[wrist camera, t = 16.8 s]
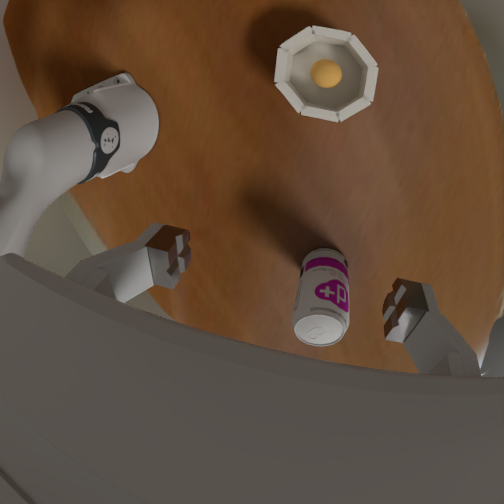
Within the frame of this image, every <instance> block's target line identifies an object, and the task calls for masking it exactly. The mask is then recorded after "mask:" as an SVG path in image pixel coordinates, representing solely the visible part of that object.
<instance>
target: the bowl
mask: <svg viewBox="0 0 504 504" xmlns="http://www.w3.org/2000/svg"><path fill="white" fill-rule="evenodd" d="M280 47H281V48H282V49H281V48H278V52H277V61H276V70H275V78H274V82H278V83H277V84H275V85H276V87H277V88H278V89H279V90H280V91H281V92H282V94H283V95H284V96H285V97H286V99H287V100H288V101H289V102H290V103H291V105H292V106H293V107H294V108H295V110H296V111H297V112H298V113H299V112H301V111H302V112H301V115H305V116H310V117H315V118H320V119H325V120H330V121H334V122H338V119H339V120H340V121H341V122H342V121H343V120H345V119H347V118H348V117H350V116H352V115H353V114H355V113H357V112H359V111H360V110H362V109H364V108H365V107H367V106H369V105H371V103H370V102H369V101H372V102H373V98H374V93H375V87H376V81H377V75H378V67H375V66H376V65H378V64H377V63H376V62H375V60H374V59H373V58H372V56H371V55H370V54H369V52H368V51H367V50H366V48H365V47H364V46H363V45H362V43H361V42H360V41H359V40H358V38H357V37H356V36H355V35H353V36H351V33H350V32H345V31H341V30H336V29H331V28H325V27H319V26H312V28H311V27H310V26H309V27H307V28H305V29H304V30H302V31H301V32H299V33H297V34H296V35H294V36H293V37H291V38H290V39H288V40H287V41H285V42H284V43H282V44H281V45H280ZM321 59H328V60H332V61H334V62H335V63H337V64H338V65H339V67H340V68H341V71H342V79H341V81H340V83H339V84H338V85H337V86H335V87H333V88H322V87H320V86H318V85H317V84H315V83H314V81H313V80H312V78H311V75H310V70H311V67H312V65H313V64H314V63H315V62H316V61H318V60H321Z"/></svg>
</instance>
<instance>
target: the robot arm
mask: <svg viewBox="0 0 504 504" xmlns="http://www.w3.org/2000/svg"><path fill="white" fill-rule="evenodd" d="M119 81H120V82H119ZM158 128H159V119H158V113H157V109H156V106H155V104H154V102H153V100H152V99H151V97H150V96H149V95H148V94H147V93H146V92H145V91H144V90H143V89H141V88H140V87H139V86H137V85H136V84H135V82H134V80H133V78H132V77H131V75H130V74H129V73H122V74H119V75H116V76H114V77H112V78H109V79H107V80H105V81H102V82H100V83H98V84H96V85H93V86H91V87H89V88H87V89H85V90H83V91H81V92H79V93H77V94H75V95H74V96H73V98H72V101H71V103H70V104H69V105H67V106H65V107H63V108H61V109H60V110H58V111H57V112H56V113H54V114H51V115H49V116H46V117H43V118H41V119H38V120H35V121H33V122H31V123H28V124H26V125H24V126H22V127H21V128H19V129H18V130H17V131H16V132H15V134H14V135H13V136H12V138H11V140H10V142H9V144H8V146H7V149H6V152H5V155H4V162H3V171H2V177H1V181H0V504H504V377H481V373H480V368H479V364H478V360H477V356H476V353H475V352H474V351H473V349H472V348H471V347H470V346H469V344H468V343H467V342H466V341H465V340H464V338H463V337H462V336H461V335H460V333H459V332H458V331H457V330H456V329H455V328H454V326H453V325H452V324H451V323H450V322H449V321H448V319H447V318H446V317H445V316H444V315H442V314H440V311H439V308H438V304H437V301H436V298H435V295H434V292H433V289H432V286H431V285H430V284H425V283H420V282H419V283H418V282H414V281H410V280H405V279H401V278H397V279H396V280H395V281H394V283H393V285H392V287H393V291H392V292H390V293H388V294H387V296H386V298H385V300H384V304H383V310H382V313H383V318H384V319H385V320H386V323H385V325H384V334H385V339H386V340H391V341H396V342H402V343H403V345H404V346H405V348H406V350H407V352H408V353H409V355H410V357H411V359H412V360H413V362H414V364H415V366H416V368H417V369H418V371H419V373H420V374H417V373H407V372H398V371H390V370H382V369H375V368H368V367H361V366H354V365H348V364H342V363H337V362H331V361H326V360H320V359H315V358H310V357H305V356H301V355H296V354H292V353H287V352H283V351H278V350H274V349H270V348H266V347H262V346H258V345H254V344H250V343H246V342H242V341H239V340H235V339H231V338H228V337H224V336H221V335H217V334H214V333H210V332H207V331H204V330H200V329H197V328H194V327H191V326H188V325H184V324H181V323H178V322H175V321H172V320H169V319H166V318H163V317H161V316H158V315H155V314H152V313H149V312H147V311H144V310H141V309H138V308H135V307H133V306H130V305H128V304H125V303H124V302H126V301H128V300H129V299H131V298H133V297H134V296H136V295H138V294H140V293H141V292H143V291H145V290H146V289H148V288H150V287H152V286H153V285H154V284H155V285H159V286H162V287H166V288H170V289H173V288H174V287H175V285H176V284H177V282H178V281H179V279H180V273H182V272H184V271H185V270H186V269H187V267H188V265H189V262H190V259H191V248H190V247H189V245H188V244H187V243H188V242H189V241H190V232H189V231H188V230H186V229H182V228H178V227H174V226H170V225H165V224H161V223H153V224H151V225H150V226H149V227H148V228H147V229H146V230H145V231H144V232H143V233H142V234H141V235H140V236H139V237H138V238H137V239H136V240H135V241H134V242H133V243H130V242H129V243H127V244H124V245H121V246H118V247H116V248H113V249H110V250H108V251H105V252H102V253H100V254H97V255H94V256H92V257H89V258H87V259H84V260H82V261H80V262H79V263H78V264H77V265H76V266H75V267H74V268H73V269H72V270H71V271H70V272H69V273H68V274H67V275H66V277H62V276H60V275H58V274H55V273H53V272H51V271H49V270H47V269H45V268H43V267H41V266H39V265H37V264H35V263H33V262H31V261H29V260H27V259H25V253H26V248H27V244H28V241H29V238H30V235H31V233H32V230H33V228H34V226H35V224H36V222H37V221H38V219H39V217H40V216H41V214H42V213H43V212H44V210H45V209H46V208H47V207H48V206H49V205H50V204H51V203H52V202H53V201H54V200H56V199H57V198H58V197H59V196H61V195H62V194H63V193H64V192H66V191H67V190H69V189H70V188H71V187H73V186H74V185H76V184H82V183H84V182H86V181H89V180H91V179H93V178H94V177H95V176H98V177H101V178H105V177H108V176H110V175H112V174H114V173H116V172H118V171H123V172H126V173H129V172H131V171H133V170H134V168H135V166H136V164H137V162H138V161H139V160H140V159H141V158H142V157H143V156H145V155H146V154H147V153H148V152H149V151H150V150H151V148H152V147H153V145H154V143H155V141H156V138H157V135H158Z"/></svg>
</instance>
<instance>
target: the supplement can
mask: <svg viewBox="0 0 504 504" xmlns="http://www.w3.org/2000/svg"><path fill="white" fill-rule="evenodd" d="M292 325H293V327H294V331H295V334H296V336H297V337H298V338H299V339H300V340H301V341H303V342H305V343H307V344H310V345H313V346H328V345H332V344H334V343H336V342H338V341H339V340H340V339H341V338H342V337H343V335H344V333H345V332H346V330H347V328H348V325H349V276H348V264H347V261H346V259H345V257H344V256H343V255H342V254H340V253H339V252H338V251H335V250H332V249H329V248H320V249H317V250H314V251H312V252H310V253H309V254H308V255H306V257H305V258H304V260H303V263H302V269H301V274H300V280H299V285H298V291H297V296H296V301H295V306H294V311H293V317H292Z"/></svg>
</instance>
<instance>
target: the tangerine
mask: <svg viewBox="0 0 504 504" xmlns="http://www.w3.org/2000/svg"><path fill="white" fill-rule="evenodd" d="M310 75H311V78H312V80H313V81H314V83H315V84H317V85H318V86H320V87H322V88H333V87H335V86H337V85H338V84H339V83H340V81H341V79H342V71H341V68H340V67H339V65H338V64H337V63H335V62H334V61H332V60H328V59H321V60H318V61H316V62H315V63H314V64H313V65H312V67H311V70H310Z"/></svg>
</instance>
